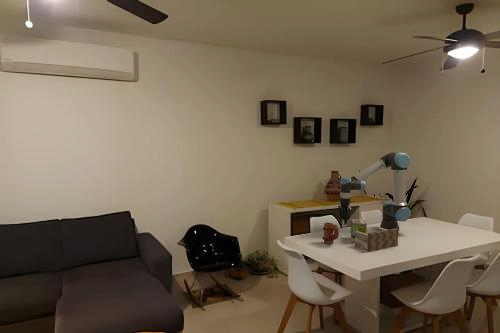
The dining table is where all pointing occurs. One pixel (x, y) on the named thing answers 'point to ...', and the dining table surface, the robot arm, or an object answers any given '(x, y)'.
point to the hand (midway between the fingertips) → (344, 227)
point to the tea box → (357, 227)
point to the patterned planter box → (377, 239)
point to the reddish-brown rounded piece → (330, 233)
